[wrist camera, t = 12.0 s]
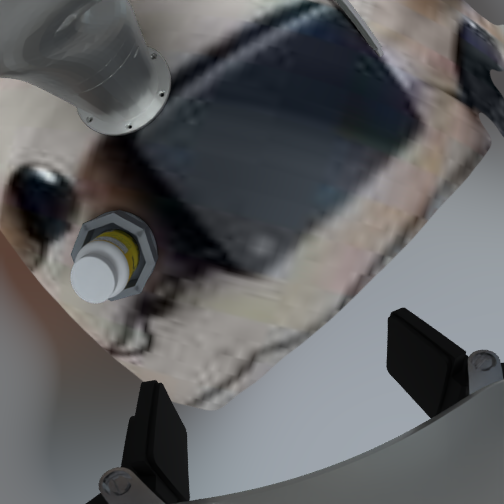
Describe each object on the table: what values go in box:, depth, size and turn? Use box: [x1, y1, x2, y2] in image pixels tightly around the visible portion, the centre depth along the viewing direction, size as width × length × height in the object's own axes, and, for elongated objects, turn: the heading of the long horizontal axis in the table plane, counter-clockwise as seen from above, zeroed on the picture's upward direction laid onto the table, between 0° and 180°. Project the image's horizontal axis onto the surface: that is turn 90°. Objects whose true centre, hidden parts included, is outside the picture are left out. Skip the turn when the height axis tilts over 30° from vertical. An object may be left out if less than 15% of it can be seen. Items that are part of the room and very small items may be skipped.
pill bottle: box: [71, 229, 141, 303], centre depth 31 cm, size 6×6×11 cm
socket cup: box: [71, 210, 158, 301], centre depth 35 cm, size 10×10×4 cm
